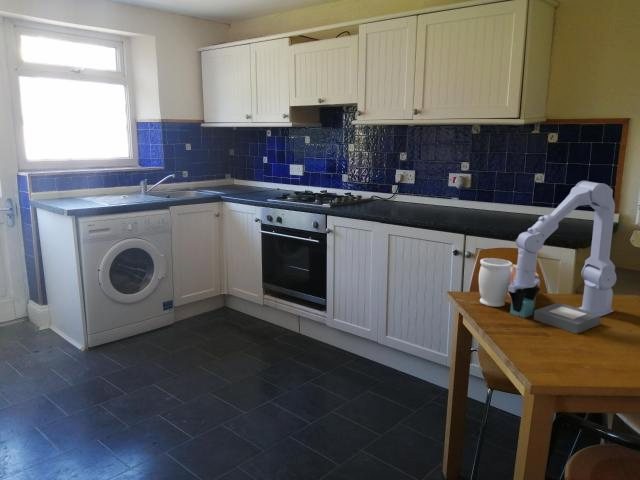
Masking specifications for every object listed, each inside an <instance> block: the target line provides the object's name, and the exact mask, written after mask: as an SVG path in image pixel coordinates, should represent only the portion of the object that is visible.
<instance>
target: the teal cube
mask: <svg viewBox="0 0 640 480" xmlns="http://www.w3.org/2000/svg"><path fill="white" fill-rule="evenodd" d="M510 302H511V303H510V310H509V314H511V315H513V316H516V315H517V317H519V316H520V318H522V317H523V318H522V319H526V318H527V317H530V315H531V316H534V309H533V307H534V300H530V299H527V298H524V300H523V303H522V308H521V311H520V312H517V311H514V310H513V304H512V300H511V301H510Z"/></svg>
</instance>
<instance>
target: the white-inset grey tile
mask: <svg viewBox="0 0 640 480" xmlns="http://www.w3.org/2000/svg"><path fill="white" fill-rule="evenodd" d="M533 320H535V321H538V322H540V323H544V324H547V325H550V326H552V327H555V328H558V329H561V330H564V331H567V332H571V333H573V334H576V335H578V334H580V333H583V332H584V331H587V330H590V329H591V328H594V327H597V326H599V325H601V320H602V316H601V315H599V314H596V313H592V312H589V311H586V310H582V309H579V307H575V306H572V305H568V304H565V303H562V302H555V303H553V304H549V305H547V306H544V307H542V308H541V307H540V308H538V309H534V310H533Z"/></svg>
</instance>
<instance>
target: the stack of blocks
mask: <svg viewBox="0 0 640 480" xmlns="http://www.w3.org/2000/svg"><path fill="white" fill-rule="evenodd" d="M510 271H511V281H510V285H511V284H512V283H513V282H512V281H513V280H514V279H516V271H517V264H512V266H511V267H510ZM535 279H539V280H540V275H539V274H538V273H537V271H536V273H535ZM536 287H538V288H539V286H537V285H536ZM521 291H522V289H521ZM522 292H523V291H522ZM507 296H508V297H509V299H511V297H510V294H509V292H508V293H507ZM536 301H537V295H536V296H535V298H534V307H533V310H536Z"/></svg>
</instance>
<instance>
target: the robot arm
mask: <svg viewBox="0 0 640 480" xmlns="http://www.w3.org/2000/svg"><path fill="white" fill-rule="evenodd" d="M613 192H614V190H613V188H612V187H610V186H609V185H608V184H606V183H599V182H594V181H588V180H581V181H579V182H577V183H576V185H575V186H574V187H572V188H571V189H570V192H569V194H568V195H567V196H566V197H565V199H564V200H562V202H560V203H559V204H558V206H557V207H556V208H555V209H554V210H553V211H552V212H551V213H550V214H545V215H543V216H542V215H541V216H539V217H538V219H537V221H536V222H535V224H533V225H532V226H531V227H528V229H527V231H524V232H521V233H519V235H518V237H517V238H516V239H515V244H516V246H517V252H518V254H517V262H516V265H517V271H516V279H514V280H513V281H512V282H513V283H512V284H511V285H509V288H508V292H509V294H510V296H509V298H510V297H511V298H510V299H511V300H512V304H513V310H514V311H517V312H520V311H521V308H522V303H523V300H524V298H527V299H530V300H534V298H535V296H536V297H537V295H538V293H539V292H540V291H541V290H540V289H541V288H540V287H539V286H540V284H541V280H540V278H539V279H535V273H536V272H537V262H538V256H539V255H538V254H539V251H541V250H542V248H543V246H544V243H545V241H546V240H547V239H548V238H549V237H550V236H551V235H552V234H553V233H554V232H555V231H556V230H558V229H559V223H560V222H561V221H562V220H563V219H565V217H566V216H569V214H571V212H573V211H574V210H575V209H577V207H580V206H581V207H582V206H590V207H591V208H592V209H594V217H593V227H592V238H591V239H592V240H591V246H590V255H589V257H588V258H586V259H585V260H584V266H583V267H582V268H581V269H582V270H581V273H580V274H581V278H582V279H583V280H584V282H583V283H584V287H583V288H584V289H583V296H582V301H581V303H582V305H581V306H579V307H578V308H579V309H582V310H586V311H589V312H592V313H596V314H599V315H601V317H603V316H605V315H608V314H610V313H612V312H614V309H612V304H613V303H612V302H613V296H614V291H613V289H612V287H613V286H614V285H615V284H616V282H617V274H616V265H615V264H614V263H613V262H612V260H611V259H610V257H611V246H612V238H613V229H614V228H613V227H614V218H615V211H616V204H615V200H614V198H613ZM536 285H537V286H538V287H536ZM521 289H522V291H523V292H522V291H521Z"/></svg>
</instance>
